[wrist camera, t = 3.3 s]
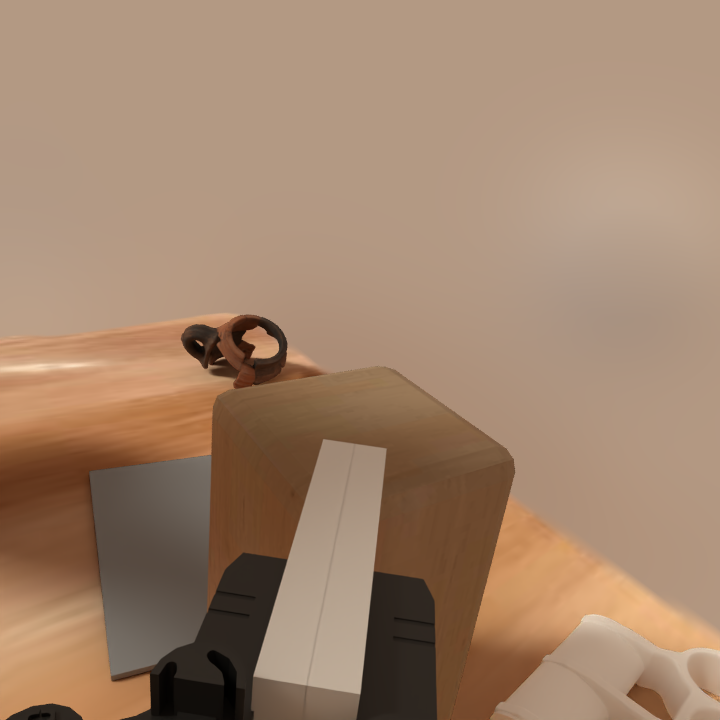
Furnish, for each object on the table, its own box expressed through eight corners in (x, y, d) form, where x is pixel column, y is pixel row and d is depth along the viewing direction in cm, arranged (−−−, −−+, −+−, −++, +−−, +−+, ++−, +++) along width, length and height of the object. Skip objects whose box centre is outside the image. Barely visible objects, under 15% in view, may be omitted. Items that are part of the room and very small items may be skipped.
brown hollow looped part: (271, 358, 80) (294, 317, 75) (269, 419, 74) (294, 379, 69) (177, 334, 76) (194, 289, 70) (166, 398, 70) (184, 353, 64)
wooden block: (197, 700, 35) (204, 384, 27) (347, 636, 41) (389, 356, 33) (274, 879, 28) (315, 518, 20) (445, 772, 33) (530, 453, 25)
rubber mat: (89, 475, 53) (89, 471, 53) (348, 440, 63) (348, 436, 63) (111, 681, 36) (111, 675, 36) (461, 587, 46) (462, 583, 46)
